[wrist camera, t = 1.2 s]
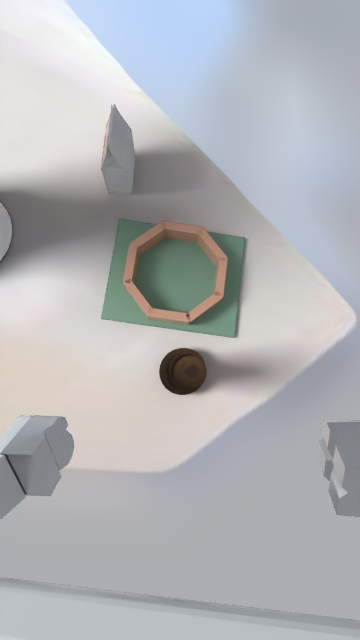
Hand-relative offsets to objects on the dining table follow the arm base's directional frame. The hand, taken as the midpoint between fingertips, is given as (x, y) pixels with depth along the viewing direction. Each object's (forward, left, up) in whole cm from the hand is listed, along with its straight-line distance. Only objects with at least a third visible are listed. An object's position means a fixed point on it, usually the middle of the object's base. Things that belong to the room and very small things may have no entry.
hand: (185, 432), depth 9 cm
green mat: (-2, +16, -34) cm, 38 cm away
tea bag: (-13, +32, -35) cm, 49 cm away
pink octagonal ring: (-2, +16, -34) cm, 38 cm away
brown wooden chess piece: (+1, +2, -35) cm, 35 cm away
